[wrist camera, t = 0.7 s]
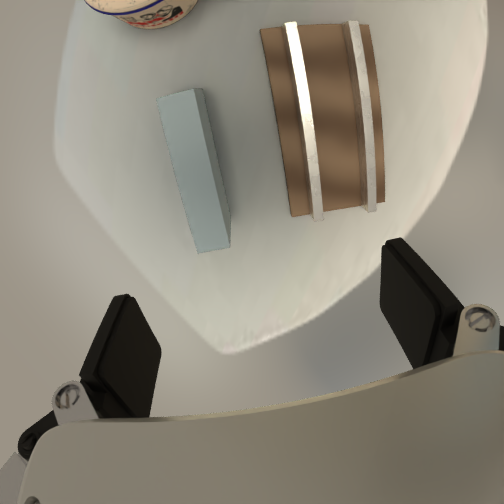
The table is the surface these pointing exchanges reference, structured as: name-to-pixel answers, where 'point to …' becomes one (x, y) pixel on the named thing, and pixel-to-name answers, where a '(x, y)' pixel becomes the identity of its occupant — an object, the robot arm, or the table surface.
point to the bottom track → (327, 115)
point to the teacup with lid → (144, 11)
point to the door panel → (196, 168)
